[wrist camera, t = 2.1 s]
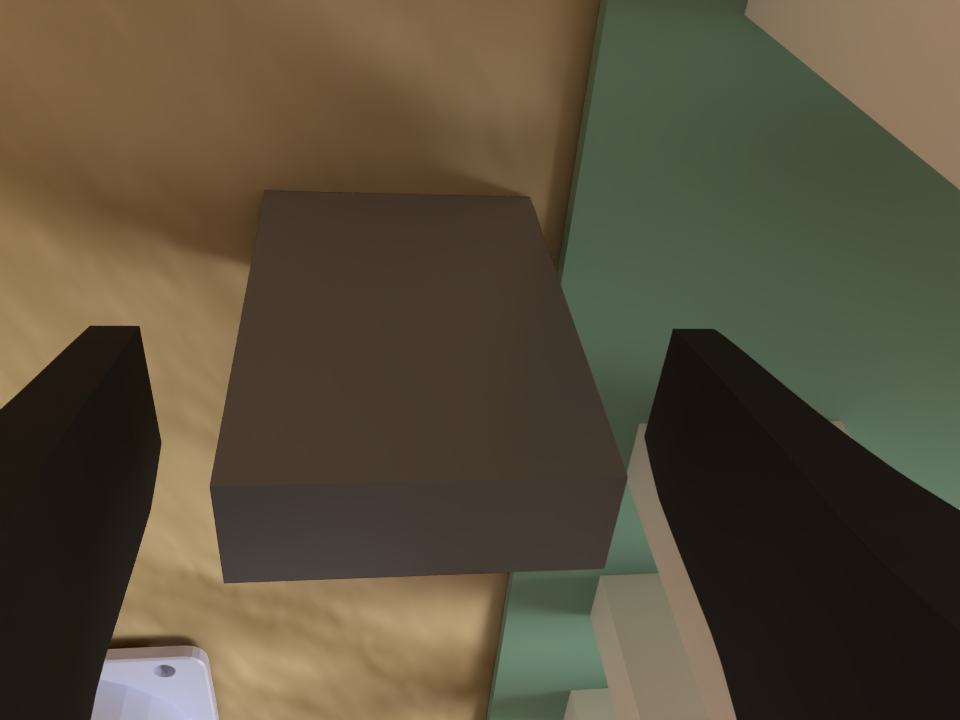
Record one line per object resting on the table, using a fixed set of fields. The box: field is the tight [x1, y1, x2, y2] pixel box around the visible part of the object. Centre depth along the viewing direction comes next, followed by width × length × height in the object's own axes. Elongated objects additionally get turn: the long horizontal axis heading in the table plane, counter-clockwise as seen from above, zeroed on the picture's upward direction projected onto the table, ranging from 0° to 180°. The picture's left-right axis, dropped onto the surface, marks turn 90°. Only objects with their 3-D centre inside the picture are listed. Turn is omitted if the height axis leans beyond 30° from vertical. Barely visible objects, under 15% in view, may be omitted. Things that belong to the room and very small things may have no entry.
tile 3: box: [627, 421, 852, 720], centre depth 16 cm, size 2×5×7 cm, turn 84°
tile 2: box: [590, 573, 709, 720], centre depth 19 cm, size 2×5×7 cm, turn 85°
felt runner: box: [486, 0, 960, 720], centre depth 20 cm, size 11×27×1 cm, turn 175°
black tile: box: [210, 191, 628, 583], centre depth 13 cm, size 2×5×7 cm, turn 85°
